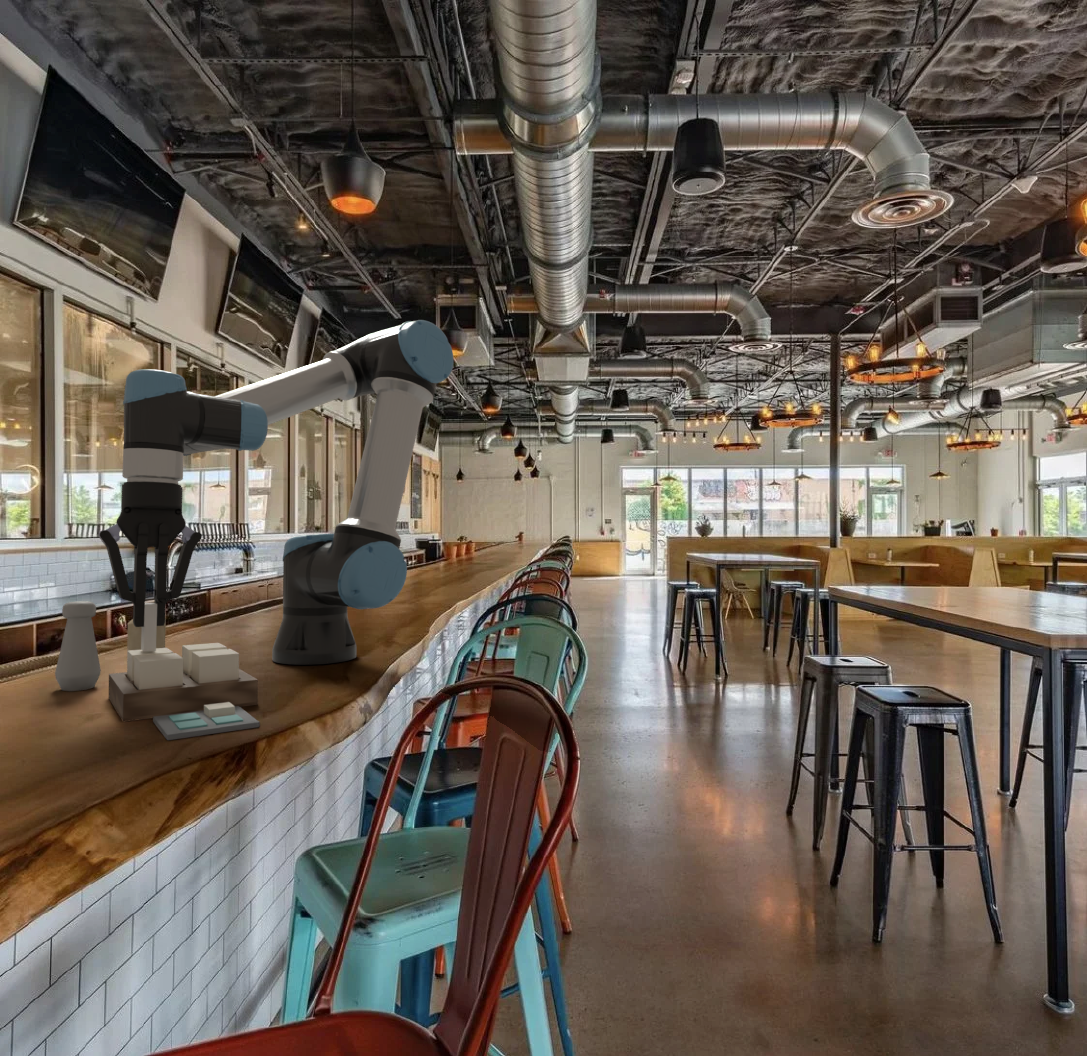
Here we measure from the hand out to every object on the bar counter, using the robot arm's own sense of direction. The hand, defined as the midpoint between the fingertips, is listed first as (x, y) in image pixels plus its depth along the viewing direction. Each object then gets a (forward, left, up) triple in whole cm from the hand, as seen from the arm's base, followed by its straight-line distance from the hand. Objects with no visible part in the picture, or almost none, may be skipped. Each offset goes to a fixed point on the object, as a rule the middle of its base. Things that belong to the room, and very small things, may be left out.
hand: (148, 649), depth 100 cm
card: (-4, +18, -7) cm, 20 cm away
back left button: (-7, 0, -4) cm, 8 cm away
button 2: (0, +7, -4) cm, 8 cm away
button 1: (0, 0, -4) cm, 4 cm away
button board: (-4, +3, -7) cm, 9 cm away
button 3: (-7, +7, -4) cm, 11 cm away
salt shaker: (+7, -15, -7) cm, 18 cm away
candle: (-3, -22, -7) cm, 23 cm away
